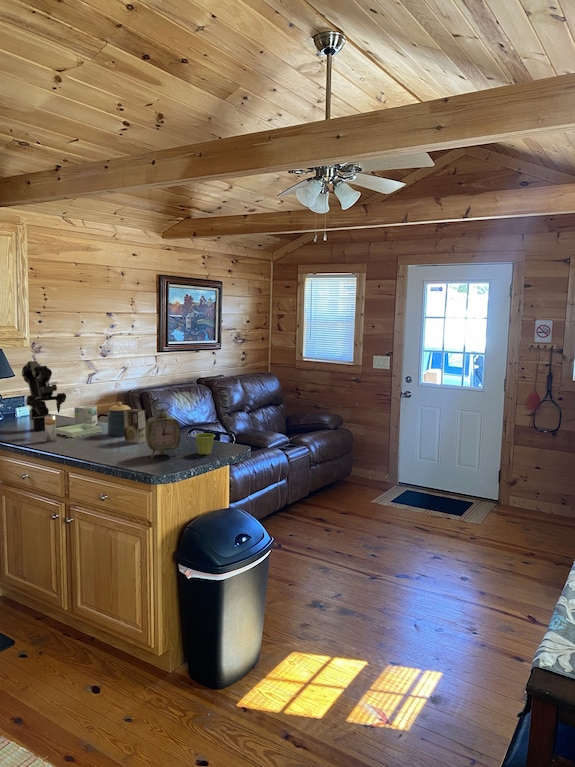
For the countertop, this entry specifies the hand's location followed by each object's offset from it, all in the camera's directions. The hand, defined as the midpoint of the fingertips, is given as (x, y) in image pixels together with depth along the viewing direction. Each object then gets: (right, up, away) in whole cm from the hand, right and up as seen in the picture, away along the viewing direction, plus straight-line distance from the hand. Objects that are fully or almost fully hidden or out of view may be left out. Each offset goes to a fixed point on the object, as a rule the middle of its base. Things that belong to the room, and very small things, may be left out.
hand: (49, 413), depth 295 cm
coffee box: (+45, -14, -3) cm, 47 cm away
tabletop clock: (+65, -18, -30) cm, 73 cm away
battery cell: (+3, -14, -6) cm, 15 cm away
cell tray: (+10, -11, +14) cm, 21 cm away
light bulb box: (+7, -9, +35) cm, 37 cm away
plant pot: (+83, -18, -25) cm, 89 cm away
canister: (+33, -12, +12) cm, 37 cm away
